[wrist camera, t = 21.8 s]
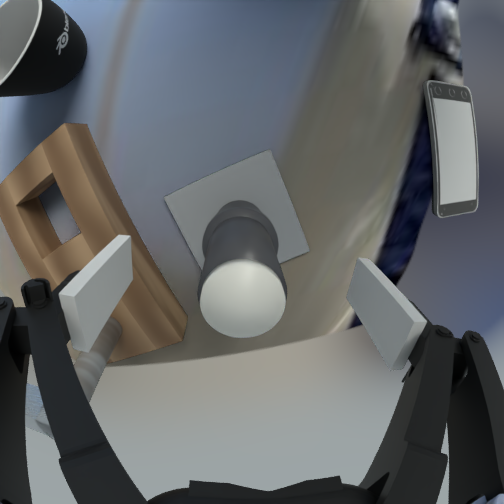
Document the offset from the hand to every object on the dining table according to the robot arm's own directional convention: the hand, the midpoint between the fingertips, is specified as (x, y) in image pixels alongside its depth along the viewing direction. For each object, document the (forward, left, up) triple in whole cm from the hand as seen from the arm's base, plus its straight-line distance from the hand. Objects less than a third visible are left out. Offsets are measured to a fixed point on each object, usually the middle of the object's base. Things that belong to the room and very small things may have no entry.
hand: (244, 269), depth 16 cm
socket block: (+15, -4, -10) cm, 19 cm away
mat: (0, 0, -10) cm, 10 cm away
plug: (0, 0, -10) cm, 10 cm away
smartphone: (-25, +1, -11) cm, 27 cm away
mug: (+9, -25, -10) cm, 28 cm away
